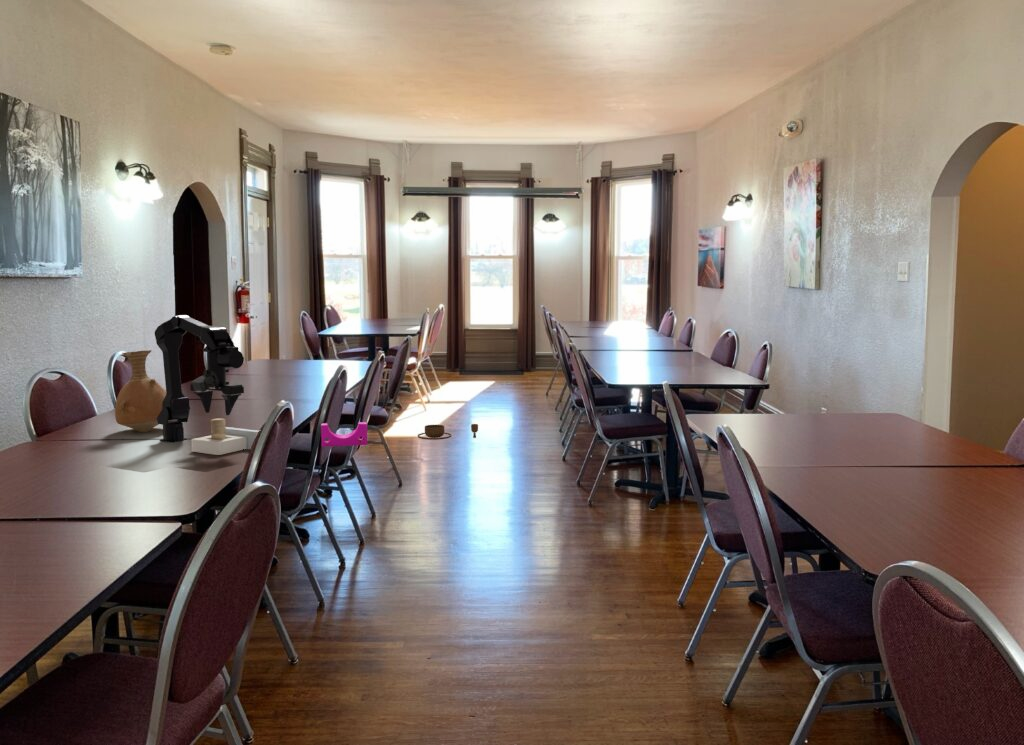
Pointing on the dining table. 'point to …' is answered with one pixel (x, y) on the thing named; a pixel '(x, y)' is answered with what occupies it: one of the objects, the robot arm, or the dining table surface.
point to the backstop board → (243, 434)
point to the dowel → (218, 429)
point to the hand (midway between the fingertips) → (217, 414)
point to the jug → (139, 396)
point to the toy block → (344, 436)
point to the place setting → (441, 432)
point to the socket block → (219, 444)
